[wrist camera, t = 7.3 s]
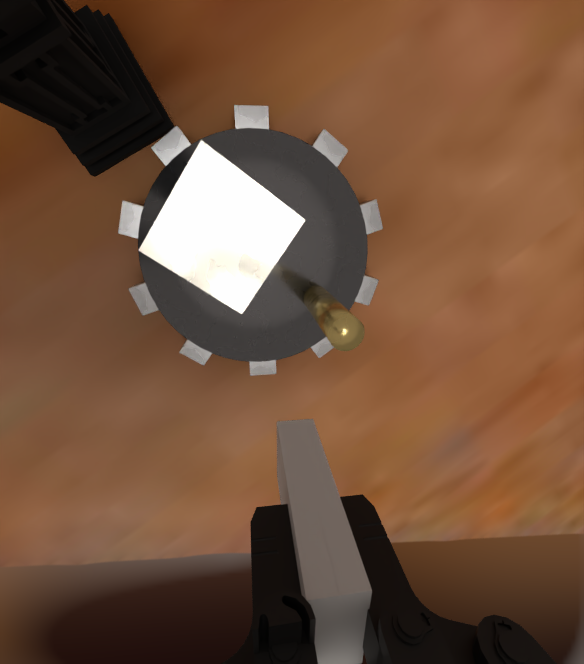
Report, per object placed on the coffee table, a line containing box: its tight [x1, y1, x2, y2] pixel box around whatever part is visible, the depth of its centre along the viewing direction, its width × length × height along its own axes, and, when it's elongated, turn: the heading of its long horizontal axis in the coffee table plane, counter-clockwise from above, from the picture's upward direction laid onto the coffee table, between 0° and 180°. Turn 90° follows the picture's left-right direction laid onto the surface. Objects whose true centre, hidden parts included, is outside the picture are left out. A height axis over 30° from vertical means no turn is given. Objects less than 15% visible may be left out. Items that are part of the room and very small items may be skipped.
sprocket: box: [118, 105, 383, 376], centre depth 25 cm, size 23×23×12 cm
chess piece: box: [0, 0, 174, 176], centre depth 17 cm, size 8×8×20 cm
